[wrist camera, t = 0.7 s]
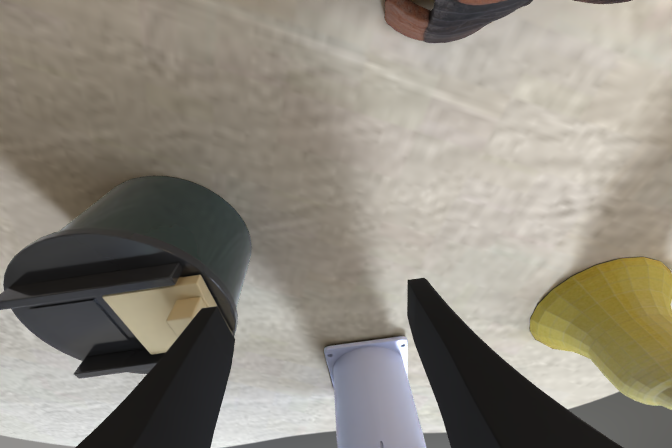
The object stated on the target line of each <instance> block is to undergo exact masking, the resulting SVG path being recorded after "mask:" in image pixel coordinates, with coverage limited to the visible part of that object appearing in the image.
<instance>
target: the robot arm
mask: <svg viewBox="0 0 672 448" xmlns="http://www.w3.org/2000/svg"><path fill="white" fill-rule="evenodd" d="M407 316H408V320H409V324H410V328H411V332H412V336H413V339H414V343H415V345H416V348H417V351H418V353H419V356H420V359H421V361H422V364H423V367H424V369H425V372H426V374H427V377H428V380H429V382H430V385H431V387H432V390H433V393H434V395H435V398H436V401H437V403H438V406H439V409H440V412H441V415H442V418H443V421H444V424H445V428H446V431H447V434H448V438H449V441H450V445H451V448H623V447H621V446H620V445H618V444H617V443H615V442H613V441H612V440H610V439H609V438H607V437H606V436H604V435H603V434H602V433H600V432H599V431H597V430H596V429H594V428H593V427H591V426H590V425H588V424H587V423H586V422H584V421H583V420H581V419H580V418H578V417H577V416H575V415H574V414H573V413H571V412H570V411H569V410H567V409H566V408H565V407H563V406H562V405H560V404H559V403H558V402H556V401H555V400H554V399H552V398H551V397H550V396H548V395H547V394H545V393H544V392H543V391H541V390H540V389H539V388H537V387H536V386H535V385H534V384H532V383H531V382H530V381H529V380H527V379H526V378H525V377H524V376H522V375H521V374H520V373H519V372H518V371H516V370H515V369H514V368H513V367H512V366H510V365H509V364H508V363H507V362H506V361H504V360H503V359H502V358H501V357H500V356H499V355H498V354H497V353H495V352H494V351H493V350H492V349H491V348H490V347H489V346H488V345H487V344H486V343H485V342H484V341H483V340H481V339H480V338H479V337H478V336H477V335H476V334H475V333H474V332H473V331H472V330H471V329H470V328H469V327H468V326H467V325H466V324H465V323H464V322H463V321H462V319H461V318H460V317H459V316H458V315H457V314H456V313H455V312H454V311H453V310H452V309H451V308H450V307H449V306H448V304H447V303H446V302H445V301H444V300H443V299H442V298H441V296H440V295H439V294H438V293H437V292H436V291H435V289H434V288H433V287H432V286H431V284H430V283H429V282H428V281H427V280H426V279H425V278H419V279H412V280H408V307H407ZM234 343H235V338H234V337H233V335H232V333H231V331H230V329H229V327H228V325H227V323H226V321H225V319H224V318H223V316H222V314H221V312H220V310H219V308H218V306H215V307H207V308H202V309H201V310H200V311H199V312H198V313H197V315H196V316H195V317H194V318H193V319H192V321H191V322H190V323H189V324H188V326H187V327H186V328H185V329H184V331H183V332H182V333H181V334H180V336H179V337H178V338H177V339H176V341H175V342H174V343H173V344H172V346H171V347H170V348H169V349H168V350H167V352H166V353H165V354H164V355H163V357H162V358H161V359H160V360H159V361H158V363H157V364H156V365H155V366H154V367H153V368H152V369H151V371H150V372H149V373H148V374H147V375H146V376H145V377H144V379H143V380H142V381H141V382H140V383H139V384H138V385H137V386H136V388H135V389H134V390H133V391H132V392H131V393H130V394H129V395H128V396H127V397H126V399H125V400H124V401H123V402H122V403H121V404H120V405H119V406H118V407H117V408H116V409H115V410H114V411H113V412H112V413H111V414H110V415H109V416H108V417H107V418H106V419H105V420H104V421H103V422H102V423H101V424H100V425H99V426H98V427H97V428H96V429H95V430H94V431H93V432H92V433H91V434H90V435H89V436H87V437H86V438H85V439H84V440H83V441H82V442H81V443H80V444H79V445H78V446H77V447H76V448H210V447H211V442H212V438H213V434H214V430H215V426H216V422H217V419H218V415H219V411H220V407H221V404H222V400H223V396H224V393H225V389H226V385H227V381H228V377H229V373H230V369H231V365H232V358H233V351H234ZM324 354H325V358H326V361H327V365H328V369H329V373H330V376H331V380H332V384H333V387H334V395H335V413H336V432H337V448H426V444H425V440H424V436H423V433H422V429H421V425H420V421H419V418H418V414H417V410H416V406H415V403H414V399H413V395H412V391H411V388H410V384H409V380H408V376H407V363H408V341H407V338H406V337H404V336H399V337H392V338H384V339H377V340H370V341H362V342H355V343H347V344H340V345H332V346H327V347H325V348H324Z"/></svg>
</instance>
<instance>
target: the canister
mask: <svg viewBox="0 0 672 448" xmlns="http://www.w3.org/2000/svg"><path fill="white" fill-rule="evenodd" d="M251 254H252V244H251V238H250V234H249V231H248V229H247V227H246V225H245V223H244V221H243V220H242V218H241V216H240V215H239V214H238V213H237V212H236V210H235V209H234V208H233V207H232V206H231V205H230V204H229V203H228V202H226V201H225V200H224V199H223V198H221V197H220V196H219V195H217V194H215V193H214V192H212V191H211V190H209V189H207V188H205V187H203V186H201V185H198V184H196V183H193V182H190V181H187V180H183V179H179V178H174V177H168V176H145V177H139V178H135V179H131V180H128V181H126V182H123V183H121V184H120V185H118V186H116V187H115V188H113V189H112V190H111V191H109V192H108V193H107V194H106V195H104V196H103V197H102V198H100V199H99V200H98V201H97V202H95V203H94V204H93V205H92V206H90V207H89V208H88V209H86V210H85V211H84V212H83V213H81V214H80V215H79V216H78V217H76V218H75V219H74V220H72V221H71V222H70V223H69V224H67V225H66V226H65V227H63V228H62V229H61V230H60V231H58V232H55V233H52V234H49V235H46V236H43V237H41V238H39V239H37V240H36V241H34V242H32V243H30V244H29V245H28V246H26V247H25V248H24V249H22V250H21V251H20V252H19V253H18V254H17V255H15V256H14V258H13V259H12V260H11V262H10V263H9V265H8V267H7V269H6V272H5V275H4V284H3V285H4V292H2V293H1V294H0V310H3V309H10V308H11V309H12V311H13V312H14V314H15V315H16V316H17V318H18V319H19V320H20V321H21V322H22V323H23V324H24V325H25V326H26V327H27V328H28V329H29V330H30V331H31V332H32V333H33V334H35V335H36V336H37V337H39V338H40V339H41V340H43V341H44V342H46V343H47V344H49V345H50V346H52V347H54V348H56V349H58V350H59V351H61V352H63V353H65V354H68V355H70V356H72V357H74V358H76V359H79V360H82V363H81V364H80V366H79V367H78V368H77V370H76V371H75V373H74V375H75V376H77V377H78V378H86V377H94V376H101V375H109V374H116V373H123V372H130V373H140V374H148V373H149V372H150V371H151V369H152V368H153V367H154V366H155V365H156V364H157V363H158V361H159V360H160V359H161V358H162V357H163V355H164V354H165V353H159V354H150V353H149V352H148V351H147V349H146V348H145V347H144V346H143V345H142V344H141V342H140V341H139V340H138V339H137V338H136V336H135V335H134V334H133V333H132V332H131V331H130V329H129V328H128V327H127V326H126V325H125V324H124V322H123V321H122V320H121V319H120V318H119V316H118V315H117V314H116V313H115V312H114V311H113V309H112V308H111V307H110V306H109V305H108V303H107V302H106V301H105V300H104V299H103V298H102V296H103V295H109V294H116V293H123V292H130V291H137V290H144V289H151V288H158V287H165V286H172V285H175V284H176V283H177V281H178V279H179V278H180V277H187V276H194V275H201V276H202V278H203V280H204V282H205V284H206V286H207V288H208V289H209V291H210V293H211V295H212V297H213V299H214V301H215V302H216V304H217V306H218V308H219V310H220V312H221V313H222V315H223V317H224V319H225V321H226V323H227V325H228V326H229V328H230V330H231V332H232V334H233V337H234V335H235V331H236V327H237V323H238V313H237V304H238V301H239V297H240V294H241V290H242V287H243V283H244V280H245V276H246V273H247V269H248V266H249V262H250V258H251Z"/></svg>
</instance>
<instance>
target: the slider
mask: <svg viewBox="0 0 672 448" xmlns="http://www.w3.org/2000/svg"><path fill="white" fill-rule="evenodd" d="M102 298H103V299H104V300H105V301H106V302H107V303H108V305H109V306H110V307H111V308H112V309H113V311H114V312H115V313H116V314H117V315H118V316H119V318H120V319H121V320H122V321H123V322H124V324H125V325H126V326H127V327H128V328H129V329H130V331H131V332H132V333H133V334H134V335H135V336H136V338H137V339H138V340H139V341H140V342H141V344H142V345H143V346H144V347H145V348H146V349H147V351H148V352H149V353H150V354H159V353H166V352H167V350H168V349H169V348H170V347H171V346H172V344H173V343H174V342H175V341H176V339H177V338H178V337H179V336H180V334H181V333H182V332H183V331H184V329H185V328H186V327H187V326H188V324H189V323H190V322H191V321H192V319H193V318H194V317H195V316H196V315H197V313H198V312H199V311H200V310H201V309H202V308H207V307H215V306H217V304H216V302H215V301H214V299H213V297H212V295H211V293H210V291H209V289H208V288H207V286H206V284H205V282H204V280H203V278H202V276H201V275H194V276H187V277H180V278H179V279H178V281H177V283H176V284H175V285H172V286H165V287H158V288H151V289H144V290H137V291H130V292H123V293H116V294H109V295H103V296H102ZM221 314H222V313H221ZM222 316H223V315H222ZM223 318H224V317H223ZM228 327H229V326H228ZM229 329H230V328H229ZM230 331H231V330H230ZM231 333H232V332H231ZM232 335H233V334H232Z"/></svg>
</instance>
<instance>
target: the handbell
mask: <svg viewBox="0 0 672 448" xmlns="http://www.w3.org/2000/svg"><path fill="white" fill-rule="evenodd" d="M671 300H672V274H671V272H670V270H669V269H668V268H667V267H666V266H665V265H664V264H663V263H662V262H661V261H657V260H653V259H649V258H645V257H637V258H621V259H617V260H613V261H610V262H606V263H602V264H599V265H595V266H593V267H591V268H589V269H587V270H585V271H582V272H580V273H578V274H576V275H574V276H572V277H570V278H569V279H567V280H566V281H565V282H563V283H562V284H560V285H559V286H557V287H556V288H554V289H553V290H552V291H551V292H550V293H549V294H548V295H547V296H546V297H545V298H544V299H543V300H542V301H541V302H540V303H539V304H538V305H537V307H536V309H535V311H534V313H533V315H532V317H531V318H530V331H531V333H532V335H533V336H534V338H535V339H536V340H538V341H539V342H541V343H543V344H545V345H547V346H549V347H550V348H552V349H558V350H565V351H571V352H575V353H578V354H580V355H582V356H585V357H587V358H589V359H591V360H592V361H593V362H594V364H595V365H596V366H597V367H598V368H599V370H600V371H601V372H602V373H603V374H604V376H605V377H606V378H607V379H608V380H609V381H610V382H611V383H612V384H613V385H614V386H615V387H616V388H617V389H618V390H619V391H620V392H621V393H623V394H624V395H626V396H627V397H629V398H631V399H633V400H635V401H638V402H641V403H643V404H648V405H655V406H657V405H661V406H663V407H666V408H668V409H671V410H672V310H671V305H670V304H671Z"/></svg>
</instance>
